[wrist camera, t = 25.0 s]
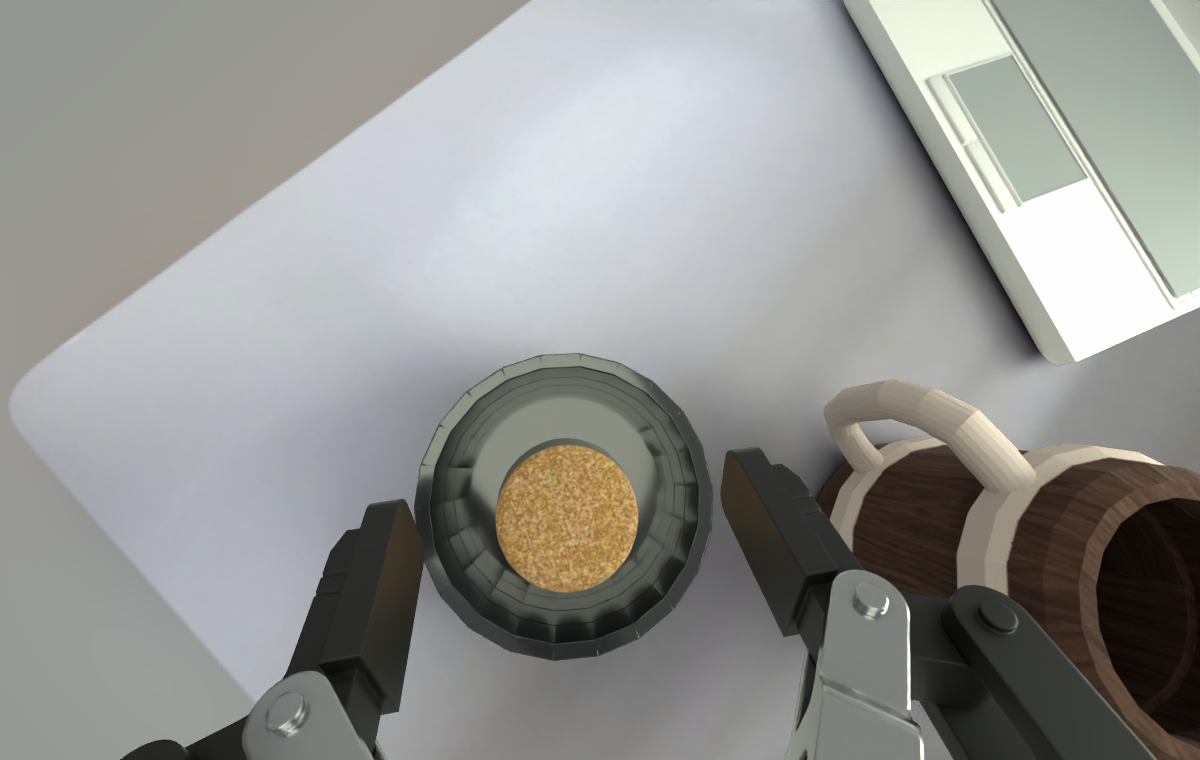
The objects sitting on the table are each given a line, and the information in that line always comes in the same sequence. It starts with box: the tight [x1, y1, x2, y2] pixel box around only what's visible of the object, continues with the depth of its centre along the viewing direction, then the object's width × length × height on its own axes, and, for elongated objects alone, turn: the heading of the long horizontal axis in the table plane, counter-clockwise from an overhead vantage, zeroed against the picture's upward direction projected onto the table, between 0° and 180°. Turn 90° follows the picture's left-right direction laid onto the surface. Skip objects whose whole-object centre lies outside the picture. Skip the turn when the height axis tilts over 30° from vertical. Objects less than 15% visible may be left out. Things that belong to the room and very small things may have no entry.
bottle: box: [495, 438, 638, 593], centre depth 23 cm, size 6×6×15 cm
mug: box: [818, 379, 1200, 760], centre depth 25 cm, size 20×15×15 cm
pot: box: [414, 353, 713, 661], centre depth 28 cm, size 16×16×6 cm
